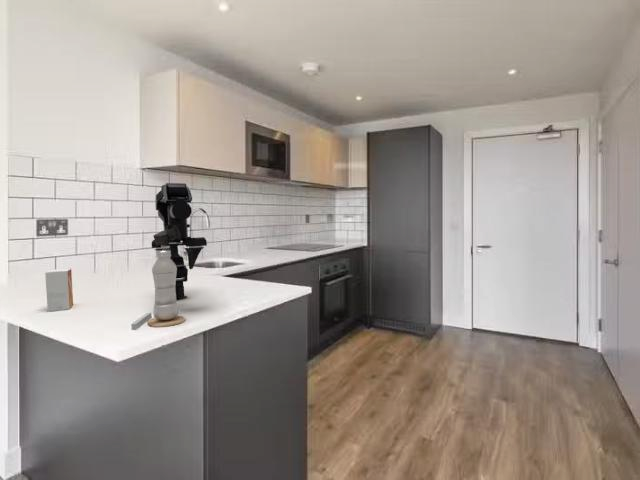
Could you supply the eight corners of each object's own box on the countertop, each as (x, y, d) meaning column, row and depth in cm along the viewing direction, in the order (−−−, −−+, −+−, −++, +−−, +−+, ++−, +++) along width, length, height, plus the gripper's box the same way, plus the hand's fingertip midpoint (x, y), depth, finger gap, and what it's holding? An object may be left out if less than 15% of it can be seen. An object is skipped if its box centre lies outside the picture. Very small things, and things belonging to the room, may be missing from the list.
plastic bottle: (152, 318, 109) (149, 250, 108) (177, 315, 113) (174, 249, 111) (154, 324, 104) (151, 252, 102) (180, 320, 107) (177, 250, 106)
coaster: (139, 324, 105) (139, 322, 105) (167, 316, 115) (167, 314, 114) (165, 328, 101) (165, 326, 101) (192, 319, 110) (192, 317, 110)
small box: (70, 309, 126) (67, 270, 125) (47, 311, 123) (44, 272, 122) (73, 304, 133) (71, 268, 132) (52, 306, 130) (49, 269, 129)
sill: (136, 329, 101) (136, 323, 101) (131, 329, 101) (131, 324, 101) (151, 317, 113) (151, 312, 113) (147, 317, 113) (147, 312, 113)
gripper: (136, 222, 119) (139, 271, 120) (181, 219, 112) (183, 271, 112) (163, 223, 130) (166, 268, 130) (206, 220, 122) (209, 268, 122)
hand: (180, 269), depth 123 cm, fingers open, 9 cm apart
